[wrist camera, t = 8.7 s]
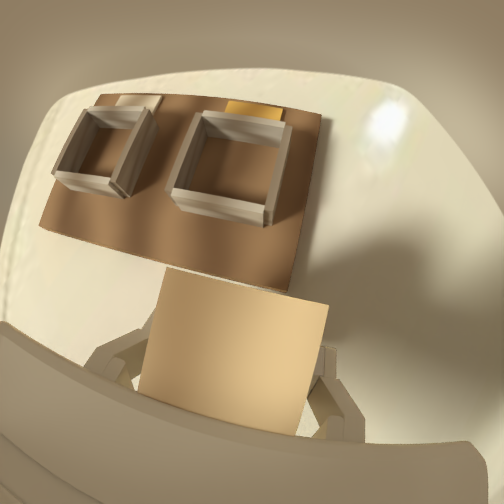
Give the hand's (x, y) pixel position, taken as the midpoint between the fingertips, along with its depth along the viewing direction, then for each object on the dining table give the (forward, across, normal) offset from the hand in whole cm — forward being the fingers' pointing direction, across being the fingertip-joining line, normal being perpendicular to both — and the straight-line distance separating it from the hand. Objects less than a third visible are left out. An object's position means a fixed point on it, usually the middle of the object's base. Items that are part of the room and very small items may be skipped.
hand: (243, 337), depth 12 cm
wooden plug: (+3, 0, +4) cm, 5 cm away
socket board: (+15, +10, -1) cm, 18 cm away
